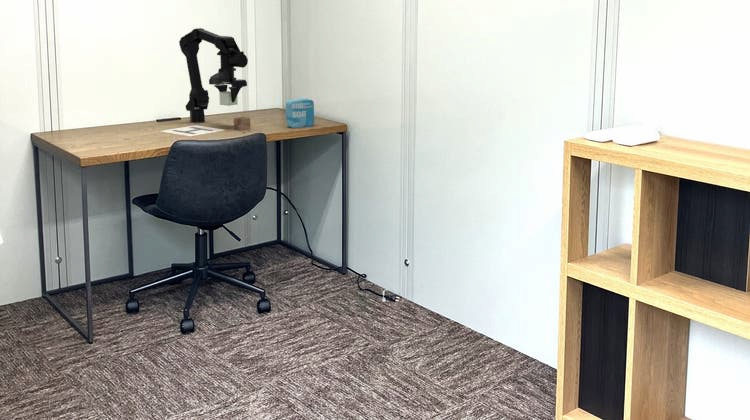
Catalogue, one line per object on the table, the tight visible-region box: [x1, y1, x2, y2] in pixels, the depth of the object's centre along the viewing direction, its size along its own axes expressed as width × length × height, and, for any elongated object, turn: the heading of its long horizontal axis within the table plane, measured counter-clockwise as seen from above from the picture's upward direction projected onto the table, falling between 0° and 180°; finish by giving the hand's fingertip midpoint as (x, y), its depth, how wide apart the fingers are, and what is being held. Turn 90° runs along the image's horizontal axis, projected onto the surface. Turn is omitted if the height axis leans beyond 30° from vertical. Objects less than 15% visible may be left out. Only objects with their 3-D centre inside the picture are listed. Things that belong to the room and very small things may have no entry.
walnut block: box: [233, 116, 251, 134], centre depth 399 cm, size 5×5×6 cm
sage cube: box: [218, 90, 239, 107], centre depth 404 cm, size 6×6×6 cm
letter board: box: [161, 124, 225, 137], centre depth 396 cm, size 20×20×1 cm
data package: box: [285, 98, 315, 129], centre depth 412 cm, size 12×4×12 cm, turn 123°
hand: (228, 101), depth 404 cm, fingers closed on sage cube, 5 cm apart
